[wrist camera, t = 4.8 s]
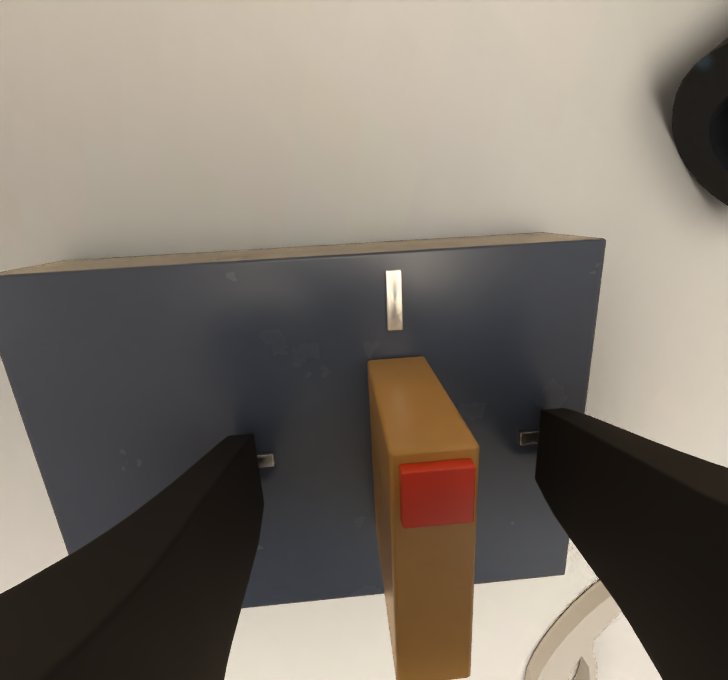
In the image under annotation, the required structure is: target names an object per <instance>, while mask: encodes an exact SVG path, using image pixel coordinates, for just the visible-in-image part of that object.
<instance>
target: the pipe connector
mask: <svg viewBox="0 0 728 680" xmlns="http://www.w3.org/2000/svg"><path fill="white" fill-rule="evenodd" d="M672 126H673V132H674V138H675V142H676V144H677V147H678V150H679V152H680V155H681V157H682V159H683V160H684V162H685V164H686V166H687V167H688V169H689V170H690V172H691V173H692V174H693V175H694V177H695V178H696V179H697V180H698V182H699V183H700V184H701V185H702V186H703V187H704V188H706V189H707V190H708V191H709V192H710V193H711V194H712V195H713V196H715V197H716V198H717V199H719V200H720V201H722V202H723V203H724V204H726V205H727V206H728V38H727V39H726V40H725V41H723V42H722V43H721V44H720V45H719V46H717V47H716V48H715V49H714V50H712V51H711V52H710V53H709V54H707V55H706V56H705V57H704V58H703V59H701V60H700V61H699V62H698V63H696V64H695V65H694V66H693V68H692V69H691V70H690V71H689V73H688V74H687V75H686V77H685V78H684V79H683V81H682V83H681V85H680V87H679V89H678V91H677V94H676V97H675V102H674V106H673V115H672Z"/></svg>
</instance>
